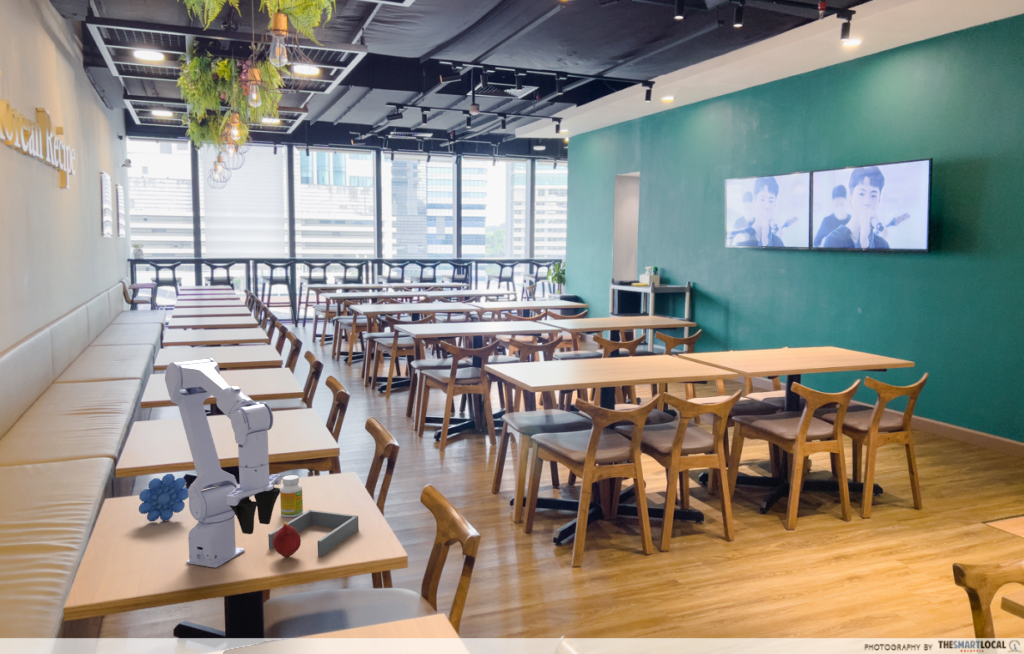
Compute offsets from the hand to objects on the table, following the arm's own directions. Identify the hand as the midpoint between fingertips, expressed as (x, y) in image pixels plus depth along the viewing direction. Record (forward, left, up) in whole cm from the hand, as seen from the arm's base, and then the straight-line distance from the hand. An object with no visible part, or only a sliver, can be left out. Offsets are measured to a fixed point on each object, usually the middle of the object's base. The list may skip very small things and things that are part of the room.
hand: (256, 528), depth 145 cm
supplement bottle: (+33, +15, -11) cm, 38 cm away
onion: (+10, 0, -11) cm, 15 cm away
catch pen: (+21, 0, -10) cm, 23 cm away
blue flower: (+20, +43, -11) cm, 49 cm away
